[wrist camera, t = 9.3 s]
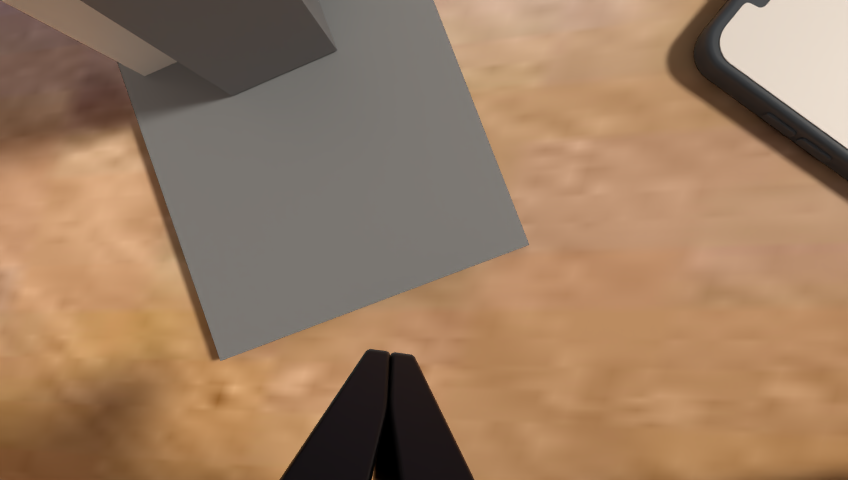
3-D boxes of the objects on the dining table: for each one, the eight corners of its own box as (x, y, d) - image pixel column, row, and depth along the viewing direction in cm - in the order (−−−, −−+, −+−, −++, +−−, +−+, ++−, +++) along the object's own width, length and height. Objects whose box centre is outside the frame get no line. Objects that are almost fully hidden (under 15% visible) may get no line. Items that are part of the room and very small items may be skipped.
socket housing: (527, 245, 21) (562, 240, 12) (229, 356, 22) (65, 425, 13) (370, -156, 22) (297, -426, 13) (97, -26, 23) (-133, -193, 15)
